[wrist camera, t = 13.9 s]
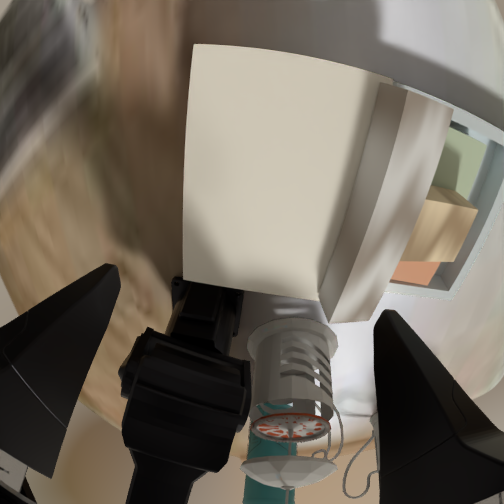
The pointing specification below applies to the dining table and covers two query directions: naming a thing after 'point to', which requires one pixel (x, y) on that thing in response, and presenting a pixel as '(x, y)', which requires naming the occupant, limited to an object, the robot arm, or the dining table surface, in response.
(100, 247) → the dining table surface
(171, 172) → the dining table surface
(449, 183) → the sage tile
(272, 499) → the beverage bottle
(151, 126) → the dining table surface
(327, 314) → the scraper
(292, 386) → the french press
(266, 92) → the cream riser block
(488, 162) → the box
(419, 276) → the terracotta tile
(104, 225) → the dining table surface
